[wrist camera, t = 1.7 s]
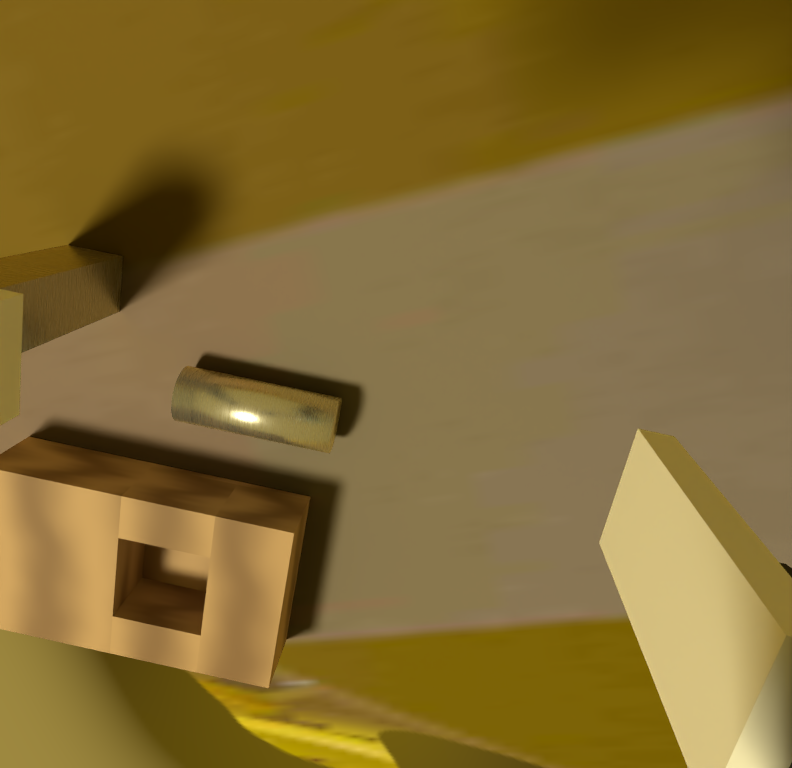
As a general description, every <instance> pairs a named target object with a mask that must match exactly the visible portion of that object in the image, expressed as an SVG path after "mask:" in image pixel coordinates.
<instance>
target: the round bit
mask: <svg viewBox="0 0 792 768" xmlns="http://www.w3.org/2000/svg"><path fill="white" fill-rule="evenodd" d="M341 405H342V398H339V397H334V396H329V395H324V394H320V393H315V392H310V391H305V390H301V389H296V388H291V387H286V386H282V385H277V384H272V383H267V382H263V381H258V380H253V379H248V378H244V377H239V376H234V375H229V374H225V373H220V372H215V371H210V370H206V369H201V368H196V367H191V366H186V367H185V368H184V369H183V370H182V371H181V373H180V375H179V377H178V379H177V381H176V384H175V388H174V391H173V396H172V404H171V411H172V417H173V419H174V420H175V421H179V422H184V423H188V424H193V425H198V426H202V427H207V428H212V429H217V430H221V431H226V432H231V433H235V434H240V435H245V436H250V437H254V438H259V439H264V440H268V441H273V442H278V443H282V444H287V445H292V446H297V447H301V448H306V449H311V450H315V451H320V452H325V453H330V452H331V449H332V447H333V443H334V440H335V436H336V432H337V428H338V422H339V417H340V411H341Z"/></svg>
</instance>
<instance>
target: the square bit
mask: <svg viewBox="0 0 792 768" xmlns="http://www.w3.org/2000/svg"><path fill="white" fill-rule="evenodd" d="M122 269H123V256H120V255H115V254H110V253H105V252H100V251H96V250H91V249H86V248H81V247H76V246H71V245H65V246H59V247H54V248H49V249H44V250H39V251H34V252H29V253H23V254H18V255H13V256H8V257H3V258H0V289H3V290H8V291H12V292H17V293H21V294H23V323H22V351H21V353H22V352H25V351H27V350H29V349H32V348H34V347H37V346H39V345H41V344H44V343H46V342H48V341H51V340H53V339H55V338H58V337H60V336H63V335H65V334H67V333H70V332H72V331H74V330H77V329H79V328H82V327H84V326H86V325H89V324H91V323H93V322H96V321H98V320H101V319H103V318H105V317H108V316H110V315H112V314H115V313H117V312H119V311H120V299H121V284H122Z"/></svg>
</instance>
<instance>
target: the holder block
mask: <svg viewBox="0 0 792 768" xmlns="http://www.w3.org/2000/svg"><path fill="white" fill-rule="evenodd" d="M309 503H310V497H309V496H305V495H300V494H295V493H291V492H286V491H281V490H277V489H272V488H267V487H263V486H258V485H253V484H249V483H244V482H239V481H235V480H230V479H225V478H221V477H216V476H211V475H207V474H202V473H197V472H193V471H188V470H183V469H179V468H174V467H169V466H165V465H160V464H155V463H151V462H146V461H141V460H136V459H132V458H127V457H122V456H118V455H113V454H108V453H104V452H99V451H94V450H90V449H85V448H80V447H76V446H71V445H66V444H62V443H57V442H52V441H48V440H43V439H38V438H34V437H28V438H26V439H24V440H23V441H21V442H20V443H18V444H16V445H15V446H13V447H11V448H10V449H8V450H7V451H5V452H3V453H2V454H0V629H3V630H7V631H12V632H17V633H21V634H26V635H30V636H35V637H39V638H44V639H48V640H53V641H57V642H62V643H66V644H71V645H75V646H80V647H85V648H89V649H93V650H98V651H103V652H107V653H112V654H116V655H121V656H125V657H130V658H134V659H139V660H143V661H148V662H153V663H157V664H161V665H166V666H170V667H175V668H179V669H184V670H189V671H193V672H198V673H202V674H207V675H211V676H216V677H220V678H225V679H229V680H234V681H238V682H243V683H247V684H252V685H256V686H261V687H265V688H269V686H270V683H271V680H272V678H273V675H274V672H275V669H276V667H277V664H278V661H279V658H280V656H281V653H282V650H283V647H284V645H285V642H286V638H287V632H288V627H289V621H290V615H291V609H292V603H293V597H294V591H295V585H296V579H297V573H298V568H299V562H300V556H301V550H302V544H303V538H304V532H305V526H306V520H307V514H308V509H309Z"/></svg>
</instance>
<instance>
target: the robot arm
mask: <svg viewBox="0 0 792 768" xmlns="http://www.w3.org/2000/svg"><path fill="white" fill-rule="evenodd" d="M22 323H23V294H21V293H17V292H12V291H8V290H3V289H0V425H2V424H4V423H5V422H7V421H9V420H11V419H13V418H14V417H16V416H18V415H19V409H20V380H21V351H22ZM599 543H600V546H601V548H602V551H603V553H604V556H605V559H606V561H607V564H608V566H609V569H610V571H611V574H612V576H613V579H614V581H615V584H616V586H617V589H618V591H619V594H620V596H621V599H622V602H623V604H624V607H625V609H626V612H627V614H628V617H629V619H630V622H631V624H632V627H633V629H634V632H635V634H636V637H637V640H638V642H639V645H640V647H641V650H642V652H643V655H644V657H645V660H646V662H647V665H648V667H649V670H650V672H651V675H652V677H653V680H654V683H655V685H656V688H657V690H658V693H659V695H660V698H661V700H662V703H663V705H664V708H665V710H666V713H667V715H668V718H669V720H670V723H671V726H672V728H673V731H674V733H675V736H676V738H677V741H678V743H679V746H680V748H681V751H682V753H683V756H684V758H685V761H686V764H687V766H688V768H792V568H790V567H789V566H788V565H786V564H783V563H779V562H778V561H777V560H776V558H775V557H774V556H773V555H772V554H771V552H770V551H769V550H768V549H767V547H766V546H765V545H764V544H763V543H762V541H761V540H760V539H759V538H758V537H757V535H756V534H755V533H754V532H753V531H752V529H751V528H750V527H749V526H748V525H747V523H746V522H745V521H744V520H743V519H742V517H741V516H740V515H739V514H738V513H737V511H736V510H735V509H734V508H733V507H732V505H731V504H730V503H729V502H728V501H727V499H726V498H725V497H724V496H723V495H722V493H721V492H720V491H719V490H718V489H717V487H716V486H715V485H714V484H713V483H712V481H711V480H710V479H709V478H708V476H707V475H706V474H705V473H704V472H703V470H702V469H701V468H700V467H699V466H698V464H697V463H696V462H695V461H694V460H693V458H692V457H691V456H690V455H689V454H688V452H687V451H686V450H685V449H684V448H683V446H682V445H681V444H680V443H679V442H678V440H677V439H676V438H675V437H674V436H670V435H665V434H661V433H656V432H652V431H647V430H642V429H638V430H637V433H636V436H635V439H634V442H633V445H632V448H631V451H630V454H629V457H628V460H627V462H626V465H625V468H624V471H623V474H622V477H621V480H620V483H619V486H618V489H617V492H616V495H615V498H614V501H613V504H612V507H611V510H610V513H609V516H608V518H607V521H606V524H605V527H604V530H603V533H602V536H601V539H600V542H599Z"/></svg>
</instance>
